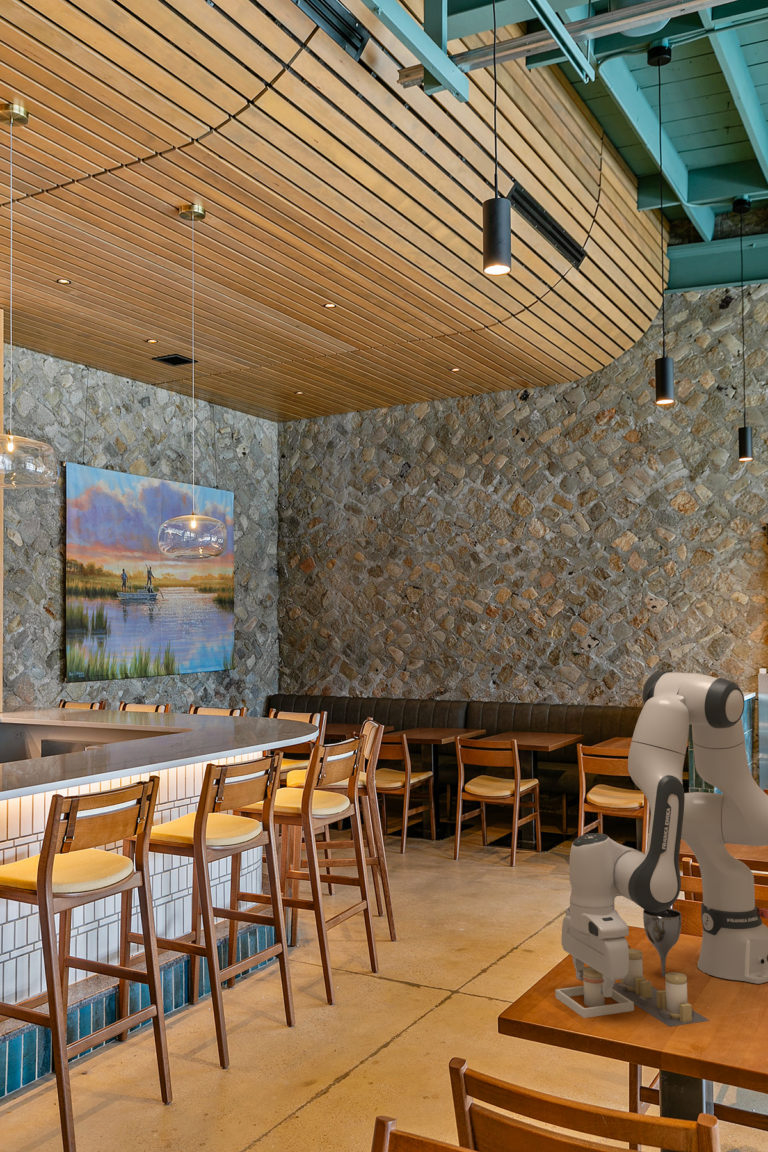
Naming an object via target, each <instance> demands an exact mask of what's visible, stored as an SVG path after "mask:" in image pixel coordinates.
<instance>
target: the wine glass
mask: <svg viewBox="0 0 768 1152" xmlns="http://www.w3.org/2000/svg"><path fill="white" fill-rule="evenodd" d="M642 919H643V920H642V921H643V927H644V928H643V929H644V932H645V936H646V938H647V940H648V941H649V943H650V945H652V946H653V948H655V950H656V951H657V954H658V955H659V959H660V965H661V977H663V978H665V974H666V963H667V957H668V954H669V953H670V950H672V949H673V947H674V946H675V945H676V944H677V943H678V941H679V939H680V935H681V932H682V931H681V930H682V929H681V928H682V912H680V911H679V910H677V909H674V908H671V907H670V908H668V909H666V910H665V911H662V912H657V913H653V912H649V911H646V910H644V909H643V910H642Z"/></svg>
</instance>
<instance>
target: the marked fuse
mask: <svg viewBox="0 0 768 1152" xmlns="http://www.w3.org/2000/svg"><path fill="white" fill-rule="evenodd" d="M583 980H584V981H583V986H584V995H583V1005H585V1006H586V1007H588V1008H589V1007H596V1006H604V1005H606V1004H605V997H604V996H603V995H601V990H600V986H603V983H604V979H603V976H602V974H601V973H600V972H598V971H596V970H595V969H593V968H592V967H590V966H586V967H585V968H584V969H583Z"/></svg>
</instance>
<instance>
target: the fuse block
mask: <svg viewBox="0 0 768 1152" xmlns="http://www.w3.org/2000/svg"><path fill="white" fill-rule="evenodd" d="M619 980H620V981H619V982H615V983H614V985H613V987H612V989H613V990H615V991H617V992H618V993H620V994H621V995H623V996H624V997H626V998H628V999H629V1000H631V1001H632V1002H634V1006H636V1007H638V1008H639V1009H641V1010H643V1011H644V1012H645V1013H648V1014H649V1015H651V1016H652V1017H653V1018H655V1019H656V1020H658V1021H659V1022H660V1023H661V1022H662V1023H663V1024H665V1025H666V1026H668V1027H671V1028H672V1027H677V1026H683V1025H690V1024H698V1023H704V1022H710V1020H711V1019H708V1018H707V1017H705V1016H703V1015H701V1014H700V1013H698V1012H696V1011H695V1010H694V1009H693V1008H692V1004H690V1003H689V1002H687V1004H680V1005H679V1006H680V1020H677V1019H672V1018H670V1013H668V1012H666V989H660V990H659V989H658V988H656V987H654V986H653V983H652V981H651V980H647V978H645V977H644V976H643V977H641V978H635V992H629V991H626V986H624V985H623V979H619Z"/></svg>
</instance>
